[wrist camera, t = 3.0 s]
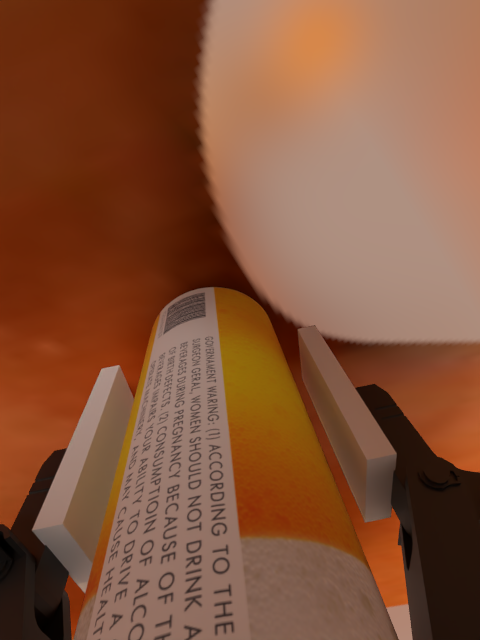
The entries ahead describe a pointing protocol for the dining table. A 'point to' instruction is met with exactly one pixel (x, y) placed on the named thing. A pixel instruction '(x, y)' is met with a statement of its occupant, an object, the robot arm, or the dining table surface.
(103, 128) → the dining table surface
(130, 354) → the dining table surface
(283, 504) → the beer can
